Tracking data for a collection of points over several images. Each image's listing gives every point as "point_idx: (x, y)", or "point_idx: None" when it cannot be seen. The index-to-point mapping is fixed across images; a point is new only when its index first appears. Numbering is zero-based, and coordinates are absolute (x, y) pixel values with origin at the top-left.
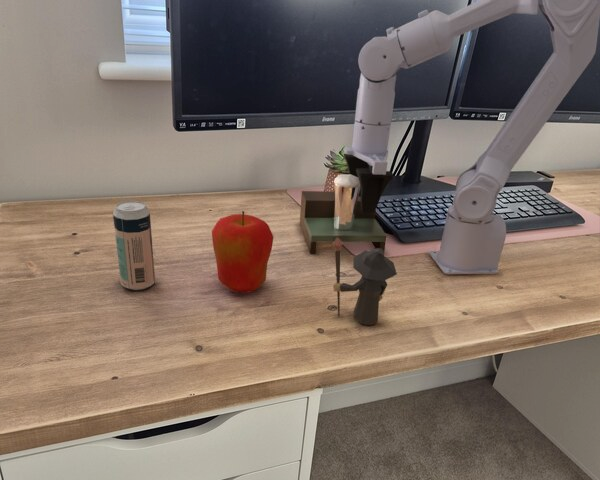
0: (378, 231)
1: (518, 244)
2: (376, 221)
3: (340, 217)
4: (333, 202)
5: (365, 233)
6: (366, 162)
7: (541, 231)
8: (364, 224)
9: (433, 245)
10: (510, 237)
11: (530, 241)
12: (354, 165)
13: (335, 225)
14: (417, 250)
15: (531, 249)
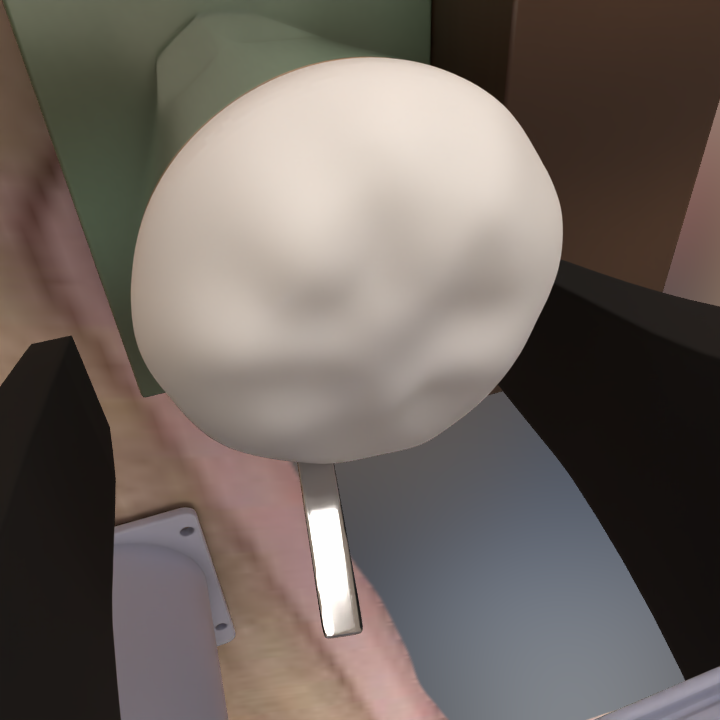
0: None
1: (336, 690)
2: None
3: (156, 90)
4: (498, 45)
5: None
6: (696, 581)
7: (431, 712)
8: None
9: (296, 509)
10: (388, 671)
11: (361, 705)
12: (712, 437)
13: (187, 29)
14: (230, 462)
15: (303, 714)
